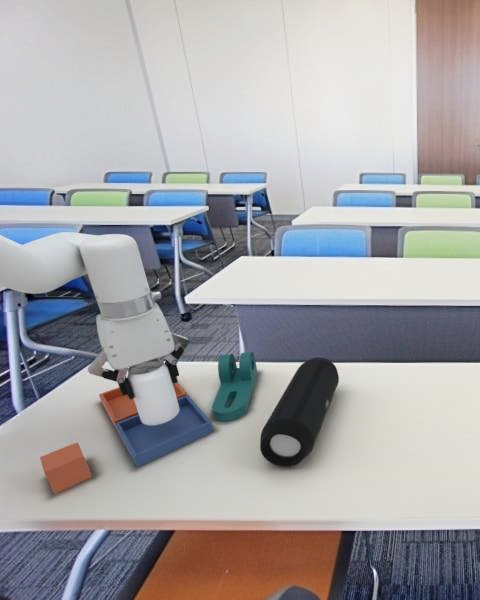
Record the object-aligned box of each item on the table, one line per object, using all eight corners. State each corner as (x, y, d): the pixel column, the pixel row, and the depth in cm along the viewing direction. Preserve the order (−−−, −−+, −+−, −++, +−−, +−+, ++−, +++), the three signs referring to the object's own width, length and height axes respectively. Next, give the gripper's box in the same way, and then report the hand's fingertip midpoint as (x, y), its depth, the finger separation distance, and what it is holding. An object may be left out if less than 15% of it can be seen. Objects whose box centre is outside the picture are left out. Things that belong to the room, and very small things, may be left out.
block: (54, 494, 68) (44, 472, 66) (50, 478, 71) (39, 456, 69) (92, 477, 71) (83, 455, 69) (86, 462, 74) (77, 441, 72)
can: (165, 402, 84) (151, 354, 80) (187, 411, 82) (174, 361, 78) (133, 421, 79) (116, 370, 74) (156, 430, 77) (139, 378, 72)
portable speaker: (312, 471, 75) (307, 429, 71) (259, 470, 74) (250, 428, 70) (342, 389, 98) (339, 354, 94) (301, 388, 98) (297, 353, 94)
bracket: (228, 376, 101) (223, 349, 98) (257, 373, 103) (252, 346, 100) (210, 423, 85) (202, 393, 82) (245, 418, 87) (238, 388, 84)
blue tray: (137, 467, 74) (133, 457, 73) (118, 433, 81) (114, 423, 80) (213, 431, 83) (211, 422, 82) (190, 403, 91) (187, 394, 90)
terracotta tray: (117, 431, 82) (113, 421, 81) (102, 403, 90) (98, 394, 89) (188, 402, 91) (186, 393, 90) (169, 379, 99) (167, 370, 98)
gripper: (175, 286, 79) (194, 363, 86) (57, 312, 67) (91, 399, 74) (189, 297, 75) (208, 377, 82) (66, 327, 62) (100, 418, 70)
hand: (152, 387), depth 78 cm, fingers closed on can, 6 cm apart
